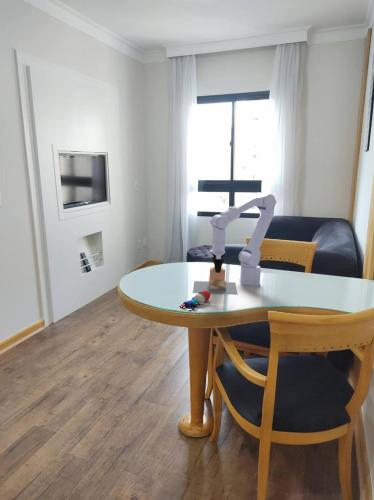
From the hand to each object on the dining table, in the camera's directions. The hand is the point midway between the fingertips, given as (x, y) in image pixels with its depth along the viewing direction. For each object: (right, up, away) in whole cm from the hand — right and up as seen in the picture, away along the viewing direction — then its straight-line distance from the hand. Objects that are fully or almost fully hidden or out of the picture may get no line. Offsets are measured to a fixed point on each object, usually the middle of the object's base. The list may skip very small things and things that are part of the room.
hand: (217, 269), depth 167 cm
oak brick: (0, -8, +2) cm, 8 cm away
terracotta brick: (0, -4, +1) cm, 4 cm away
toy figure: (-10, -14, -17) cm, 24 cm away
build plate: (-1, -9, +1) cm, 9 cm away
